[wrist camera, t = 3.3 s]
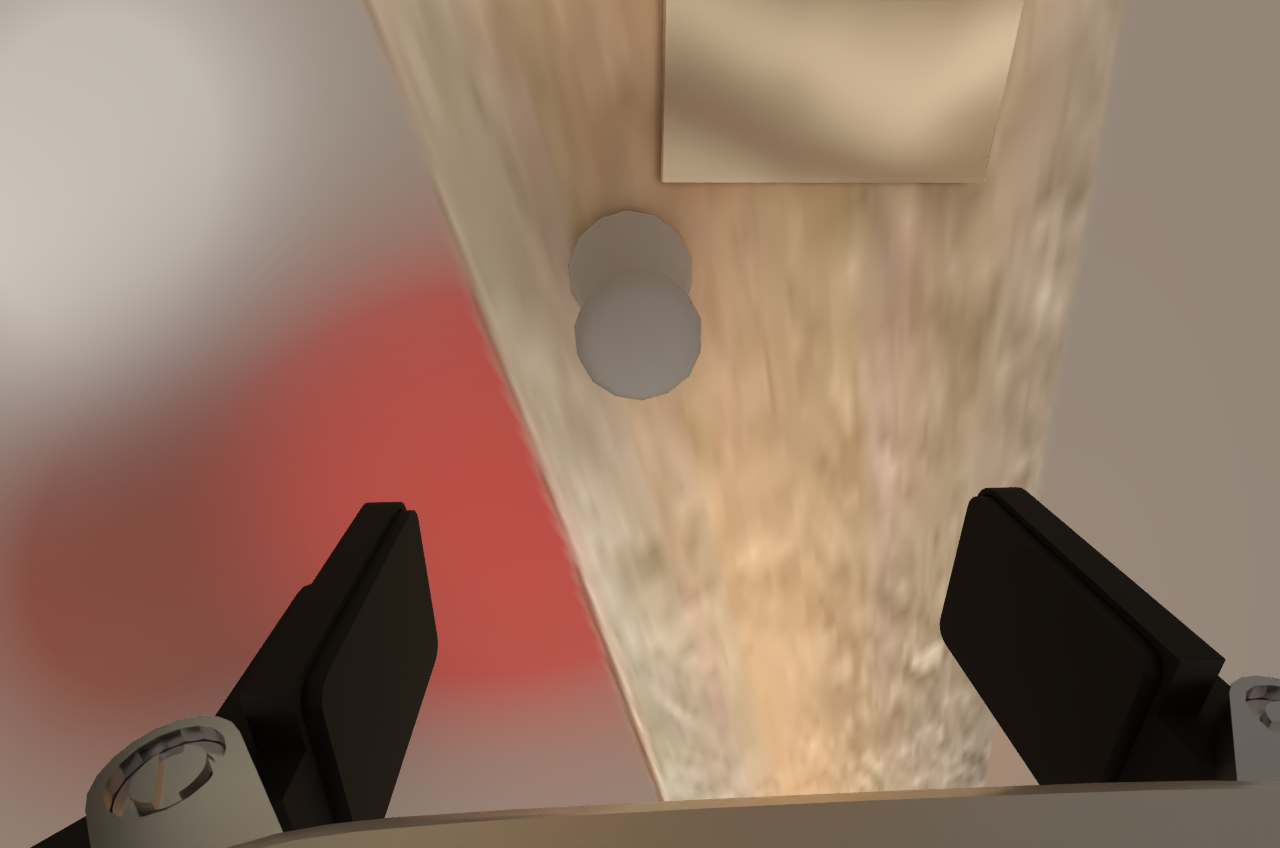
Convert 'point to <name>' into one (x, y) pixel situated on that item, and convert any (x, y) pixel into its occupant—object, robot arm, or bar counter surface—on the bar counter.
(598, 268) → the salt shaker
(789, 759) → the bar counter surface
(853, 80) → the serving board
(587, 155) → the bar counter surface
